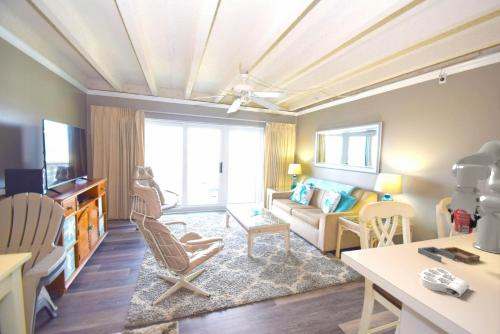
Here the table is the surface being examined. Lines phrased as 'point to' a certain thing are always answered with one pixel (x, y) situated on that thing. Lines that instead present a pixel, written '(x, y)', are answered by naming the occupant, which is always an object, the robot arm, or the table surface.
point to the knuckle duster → (442, 281)
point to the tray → (462, 254)
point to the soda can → (462, 222)
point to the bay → (427, 251)
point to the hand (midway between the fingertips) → (463, 224)
